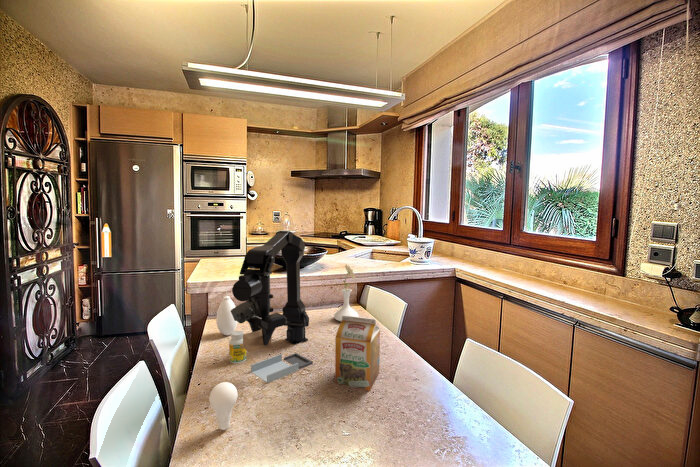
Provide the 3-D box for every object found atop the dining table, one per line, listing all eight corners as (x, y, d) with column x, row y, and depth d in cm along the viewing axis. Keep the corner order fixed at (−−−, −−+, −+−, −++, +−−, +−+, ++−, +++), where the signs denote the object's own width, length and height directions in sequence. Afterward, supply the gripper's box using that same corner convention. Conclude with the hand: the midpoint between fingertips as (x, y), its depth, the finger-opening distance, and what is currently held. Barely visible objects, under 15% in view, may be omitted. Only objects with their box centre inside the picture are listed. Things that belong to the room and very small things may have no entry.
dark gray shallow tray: (296, 355, 118) (296, 352, 118) (312, 364, 111) (312, 361, 111) (283, 360, 114) (283, 357, 114) (300, 369, 108) (300, 366, 108)
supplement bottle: (243, 355, 117) (243, 328, 116) (248, 361, 113) (248, 333, 112) (227, 359, 114) (227, 331, 114) (231, 366, 110) (231, 337, 109)
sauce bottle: (242, 332, 138) (241, 289, 136) (227, 339, 131) (226, 293, 129) (227, 329, 141) (226, 287, 140) (212, 336, 134) (211, 291, 133)
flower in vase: (358, 324, 149) (359, 267, 147) (332, 324, 149) (333, 267, 147) (358, 314, 162) (359, 262, 160) (334, 314, 162) (334, 262, 160)
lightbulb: (214, 421, 82) (213, 377, 81) (241, 420, 82) (240, 376, 81) (206, 438, 76) (205, 391, 75) (234, 437, 76) (233, 390, 75)
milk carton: (379, 373, 106) (380, 313, 104) (370, 390, 96) (371, 325, 94) (347, 367, 109) (347, 310, 108) (335, 384, 100) (335, 320, 98)
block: (265, 341, 106) (264, 328, 105) (271, 346, 102) (271, 333, 102) (243, 347, 101) (242, 334, 101) (249, 352, 98) (249, 339, 97)
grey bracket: (281, 361, 114) (280, 353, 113) (298, 371, 107) (298, 363, 107) (251, 372, 106) (251, 364, 106) (267, 384, 99) (267, 375, 99)
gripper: (219, 290, 102) (221, 341, 103) (251, 304, 88) (252, 361, 90) (253, 284, 109) (254, 331, 111) (287, 295, 96) (287, 349, 98)
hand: (261, 342), depth 102 cm, fingers closed on block, 5 cm apart
